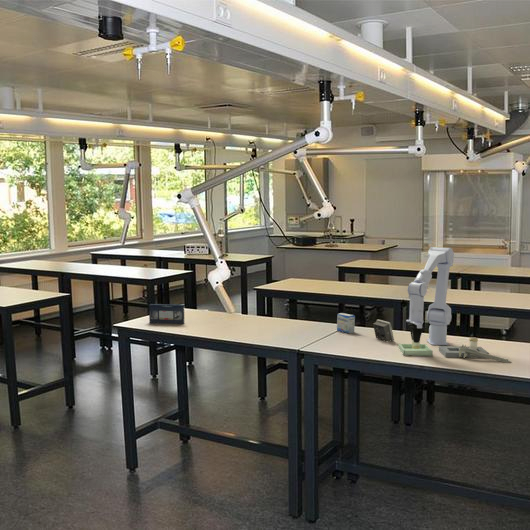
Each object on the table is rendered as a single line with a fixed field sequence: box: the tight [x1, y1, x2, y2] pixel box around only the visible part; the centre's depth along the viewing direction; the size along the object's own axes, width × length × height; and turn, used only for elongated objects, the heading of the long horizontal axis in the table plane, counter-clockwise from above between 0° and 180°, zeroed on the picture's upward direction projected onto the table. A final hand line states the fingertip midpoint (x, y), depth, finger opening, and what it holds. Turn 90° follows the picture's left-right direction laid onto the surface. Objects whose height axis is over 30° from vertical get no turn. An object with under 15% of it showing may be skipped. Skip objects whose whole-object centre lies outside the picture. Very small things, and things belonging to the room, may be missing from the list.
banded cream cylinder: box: [411, 333, 421, 349], centre depth 259 cm, size 3×3×7 cm
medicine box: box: [336, 312, 356, 334], centre depth 299 cm, size 8×4×9 cm, turn 42°
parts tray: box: [397, 343, 434, 357], centre depth 260 cm, size 12×12×2 cm
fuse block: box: [438, 345, 490, 359], centre depth 257 cm, size 11×18×2 cm, turn 88°
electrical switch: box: [372, 319, 395, 342], centre depth 282 cm, size 9×5×9 cm, turn 29°
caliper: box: [458, 344, 512, 364], centre depth 248 cm, size 20×1×6 cm, turn 71°
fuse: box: [468, 336, 479, 350], centre depth 257 cm, size 3×3×7 cm
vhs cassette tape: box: [148, 303, 185, 325], centre depth 316 cm, size 18×3×10 cm, turn 83°
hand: (415, 341), depth 259 cm, fingers closed on banded cream cylinder, 3 cm apart
